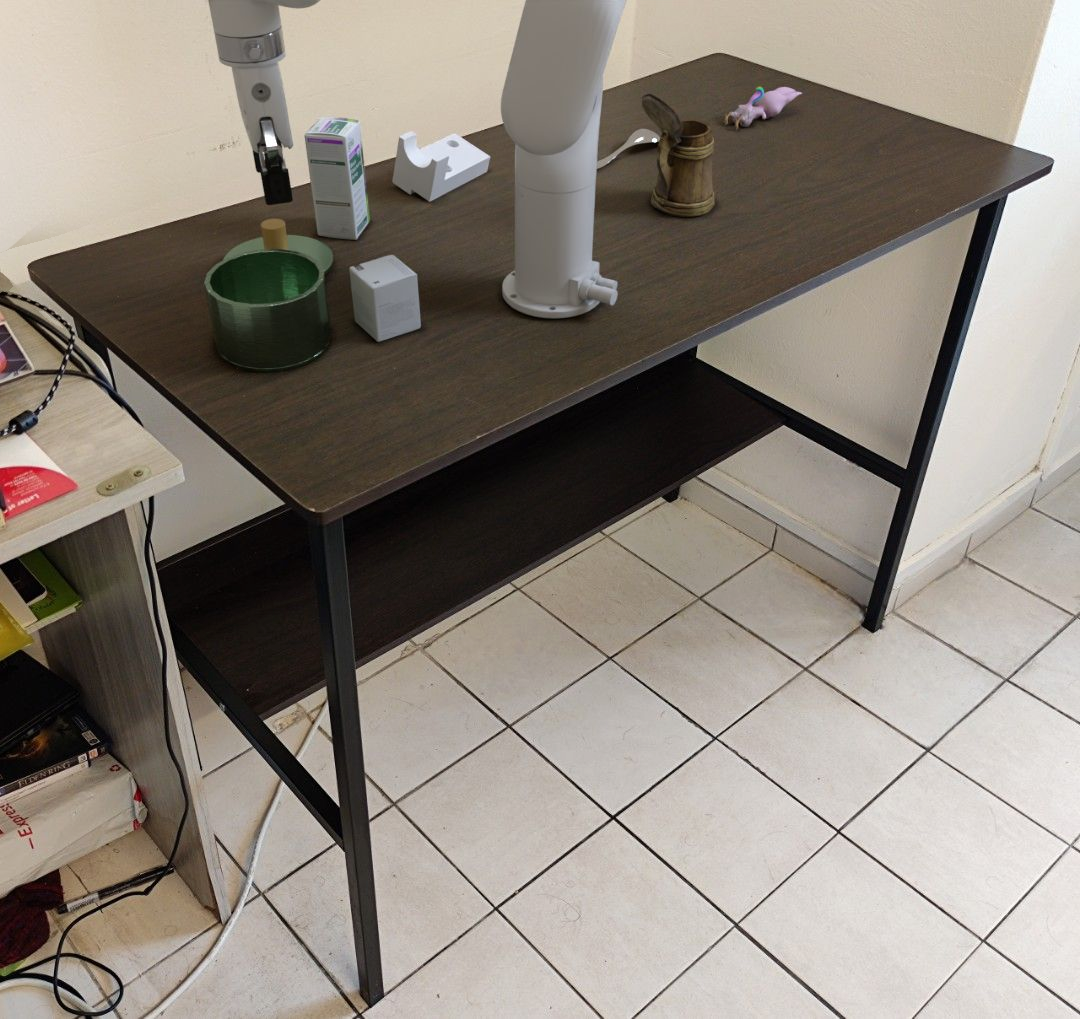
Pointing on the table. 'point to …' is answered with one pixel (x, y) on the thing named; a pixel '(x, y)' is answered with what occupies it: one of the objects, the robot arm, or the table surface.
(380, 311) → the product carton
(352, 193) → the syrup box
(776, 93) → the pink creature figurine
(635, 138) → the metal spoon
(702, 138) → the wooden mug
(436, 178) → the bracket
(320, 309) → the tin
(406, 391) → the table surface
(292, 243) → the tin lid
